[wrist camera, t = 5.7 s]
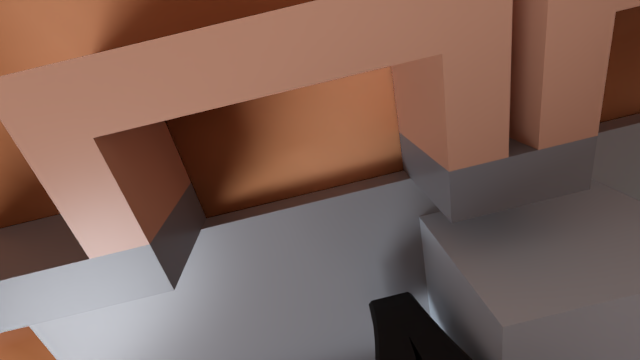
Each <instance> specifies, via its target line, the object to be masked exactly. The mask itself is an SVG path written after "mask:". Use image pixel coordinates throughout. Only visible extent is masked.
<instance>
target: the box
mask: <svg viewBox="0 0 640 360" xmlns="http://www.w3.org/2000/svg"><path fill="white" fill-rule="evenodd" d="M637 6H640V0H315V1H311V2H307V3H303V4H298V5H294V6H290V7H286V8H282V9H278V10H274V11H269V12H265V13H261V14H257V15H253V16H249V17H244V18H240V19H236V20H232V21H228V22H224V23H220V24H215V25H211V26H207V27H203V28H199V29H195V30H190V31H186V32H182V33H178V34H174V35H170V36H166V37H161V38H157V39H153V40H149V41H145V42H141V43H136V44H132V45H128V46H124V47H120V48H116V49H112V50H107V51H103V52H99V53H95V54H91V55H87V56H82V57H78V58H74V59H70V60H66V61H62V62H58V63H53V64H49V65H45V66H41V67H37V68H33V69H28V70H24V71H20V72H16V73H12V74H8V75H4V76H0V120H1V122H2V123H3V125H4V126H5V128H6V130H7V131H8V133H9V134H10V136H11V137H12V139H13V141H14V142H15V144H16V145H17V147H18V148H19V150H20V151H21V153H22V155H23V156H24V158H25V159H26V161H27V162H28V164H29V165H30V167H31V169H32V170H33V172H34V173H35V175H36V176H37V178H38V179H39V181H40V183H41V184H42V186H43V187H44V189H45V190H46V192H47V193H48V195H49V197H50V198H51V200H52V201H53V203H54V204H55V206H56V207H57V209H58V211H59V212H60V214H59V215H55V216H50V217H46V218H42V219H38V220H34V221H30V222H26V223H22V224H17V225H13V226H9V227H5V228H1V229H0V333H2V332H6V331H10V330H14V329H18V328H22V327H26V326H29V327H30V328H31V329H32V330H33V332H34V333H35V334H36V335H37V336H38V338H39V339H40V340H41V341H42V342H43V344H44V345H45V346H46V347H47V348H48V350H49V351H50V352H51V353H52V355H53V356H54V357H55V358H56V359H57V360H375V339H374V328H373V323H372V318H371V313H370V309H369V303H370V302H371V301H372V300H376V299H380V298H384V297H388V296H392V295H396V294H400V293H404V292H409V293H411V294H412V295H413V296H414V297H415V299H416V300H417V301H418V302H419V304H420V305H421V306H422V307H423V308H424V310H425V311H426V312H427V313H428V314H429V315H430V310H429V301H428V292H427V283H426V274H425V265H424V256H423V247H422V238H421V229H420V220H419V217H420V216H424V215H428V214H432V213H436V212H440V211H441V212H442V213H443V214H444V215H445V216H446V217H447V218H448V219H449V221H450V222H451V223H454V222H458V221H462V220H466V219H470V218H474V217H479V216H483V215H487V214H491V213H495V212H499V211H503V210H507V209H511V208H516V207H520V206H524V205H528V204H532V203H536V202H540V201H544V200H548V199H553V198H557V197H561V196H565V195H569V194H573V193H577V192H581V191H585V190H590V186H591V180H594V181H596V182H598V183H600V184H602V185H605V186H607V187H609V188H611V189H613V190H616V191H618V192H620V193H622V194H624V195H627V196H629V197H631V198H633V199H635V200H638V201H640V113H639V114H635V115H631V116H626V117H622V118H618V119H614V120H610V121H606V122H602V123H600V117H601V110H602V103H603V97H604V90H605V83H606V76H607V69H608V62H609V55H610V49H611V42H612V35H613V28H614V21H615V14H616V12H617V11H621V10H625V9H629V8H633V7H637ZM389 66H391V68H392V77H393V85H394V93H395V102H396V110H397V118H398V127H399V135H400V143H401V152H402V160H403V168H404V171H400V172H396V173H392V174H387V175H383V176H379V177H375V178H371V179H367V180H363V181H359V182H354V183H350V184H346V185H342V186H338V187H334V188H330V189H326V190H321V191H317V192H313V193H309V194H305V195H301V196H297V197H293V198H289V199H284V200H280V201H276V202H272V203H268V204H264V205H260V206H256V207H251V208H247V209H243V210H239V211H235V212H231V213H227V214H223V215H218V216H214V217H210V218H206V217H205V214H204V212H203V210H202V207H201V205H200V202H199V200H198V198H197V195H196V193H195V191H194V188H193V186H192V184H191V181H190V179H189V177H188V174H187V172H186V170H185V167H184V165H183V163H182V160H181V158H180V156H179V153H178V151H177V149H176V146H175V144H174V142H173V139H172V137H171V135H170V132H169V130H168V127H167V125H166V123H165V121H166V120H170V119H174V118H178V117H182V116H186V115H190V114H195V113H199V112H203V111H207V110H211V109H215V108H219V107H224V106H228V105H232V104H236V103H240V102H244V101H248V100H253V99H257V98H261V97H265V96H269V95H273V94H277V93H281V92H286V91H290V90H294V89H298V88H302V87H306V86H310V85H315V84H319V83H323V82H327V81H331V80H335V79H339V78H344V77H348V76H352V75H356V74H360V73H364V72H368V71H373V70H377V69H381V68H385V67H389Z"/></svg>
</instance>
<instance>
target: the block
mask: <svg viewBox="0 0 640 360" xmlns="http://www.w3.org/2000/svg"><path fill="white" fill-rule="evenodd" d="M419 220H420V229H421V238H422V247H423V256H424V265H425V274H426V283H427V292H428V301H429V310H430V317H431V318H432V319H433V320H434V321H435V322H436V323H437V324H438V325H439V326H440V327H441V329H442V330H443V331H444V332H445V333H446V334H447V335H448V336H449V337H450V338H451V339H452V340H453V341H454V342H455V343H456V344H457V345H458V346H459V347H460V348H461V349H462V350H463V351H464V352H465V353H466V354H467V355H468V356H469V357H470V358H471V359H472V360H640V201H638V200H635V199H633V198H631V197H629V196H627V195H624V194H622V193H620V192H618V191H616V190H613V189H611V188H609V187H607V186H605V185H602V184H600V183H598V182H596V181H594V180H591V186H590V190H585V191H581V192H577V193H573V194H569V195H565V196H561V197H557V198H553V199H548V200H544V201H540V202H536V203H532V204H528V205H524V206H520V207H516V208H511V209H507V210H503V211H499V212H495V213H491V214H487V215H483V216H479V217H474V218H470V219H466V220H462V221H458V222H454V223H451V222H450V221H449V219H448V218H447V217H446V216H445V215H444V214H443V213H442V212H441V211H440V212H436V213H432V214H428V215H424V216H420V217H419Z"/></svg>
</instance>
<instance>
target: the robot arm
mask: <svg viewBox="0 0 640 360" xmlns="http://www.w3.org/2000/svg"><path fill="white" fill-rule="evenodd" d="M369 309H370V313H371V318H372V323H373V328H374V339H375V360H472V359H471V358H470V357H469V356H468V355H467V354H466V353H465V352H464V351H463V350H462V349H461V348H460V347H459V346H458V345H457V344H456V343H455V342H454V341H453V340H452V339H451V338H450V337H449V336H448V335H447V334H446V333H445V332H444V331H443V330H442V329H441V327H440V326H439V325H438V324H437V323H436V322H435V321H434V320H433V319H432V318H431V317H430V315H429V314H428V313H427V312H426V311H425V310H424V308H423V307H422V306H421V305H420V304H419V302H418V301H417V300H416V299H415V297H414V296H413V295H412V294H411V293H409V292H404V293H400V294H396V295H392V296H388V297H384V298H380V299H376V300H372V301H371V302H370V303H369Z"/></svg>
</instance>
